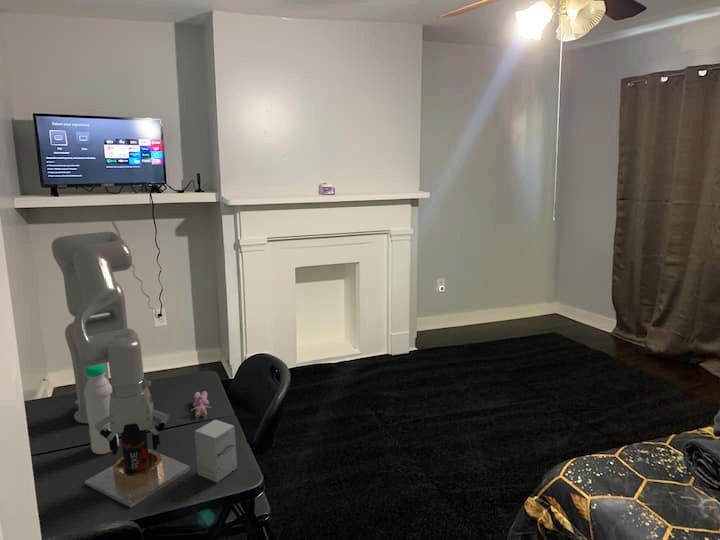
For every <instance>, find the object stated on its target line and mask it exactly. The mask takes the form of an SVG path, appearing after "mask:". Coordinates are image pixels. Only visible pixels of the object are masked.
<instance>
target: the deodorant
mask: <svg viewBox="0 0 720 540" xmlns="http://www.w3.org/2000/svg"><path fill="white" fill-rule="evenodd" d="M147 435H148V434H147V430H139V427H138V425H137V424H131V425H124V430H123V433H120V438H121V448H122V457H124V465H125V474H135V473H139V472H143V471H146V470H147V469H149V468H150V463H149V453H148V449H149V446H148V436H147Z"/></svg>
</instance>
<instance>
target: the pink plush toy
mask: <svg viewBox="0 0 720 540" xmlns="http://www.w3.org/2000/svg"><path fill="white" fill-rule="evenodd" d="M193 398H194V399H195V400H194V402H192V406H193V407H194V408H191V409H190V411H191V412H193V411H194V410H195V411H194V412H195V413H194V414H195V417H196V418H195V420H199V419H200V417H203V419H205V420H206V419H207V415H208V412H207V411H208V410H207V409H212V407H211V406H209V405H210V401H209V400H208V399H207V398H208V392H207V391H205V390H204V391H202V392H200V391H197V392H194V396H193Z"/></svg>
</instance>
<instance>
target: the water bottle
mask: <svg viewBox="0 0 720 540" xmlns="http://www.w3.org/2000/svg"><path fill="white" fill-rule="evenodd" d="M104 374H105V366H104V365H103V364H99V365H95V366H88V367H87V368H86V375H87V377H88V378H89V380H88V382H87V386H86V388H85V390H84V396H85V398H86V411H87V418H88V423H87V424H88V426H89V429H88V430H89V437H90V447H91V451H92V452H93V453H94V454H96V455H106V454H109V452H110V453H111V452H112V451H110V446H109V441H107V438H105V437H103V436H102V435H101V434H100V432H99V431H98V430H97V429H96V428H95V425H96V423H97V422H99V421H100V420H102V419H104V418H105V417H107V416H109V401H110V394H111V392H112V385H111V383H110V381H109V382H108V380H107V379H106V378H105V377H104ZM104 428H106V429H108V430H109V431H111V429H110V422H109V423H107V424H105V425H104ZM116 436H117V442H118V447H119V446H120V441H119V435H118V433H117V434H116ZM112 453H113V452H112Z"/></svg>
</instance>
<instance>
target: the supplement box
mask: <svg viewBox="0 0 720 540" xmlns="http://www.w3.org/2000/svg"><path fill="white" fill-rule="evenodd" d="M235 432H236V430H235V425H233V424H230V423H227V422H223V421H221V420H217V419H213V420H211V421H210V422H208V423H207V424H204V425H203V426H201V427H199V428H197V429H196V430H194V443H195V445H194V446H195V454H196V455H195V457H196V467H197V469H196V470H197V475H198V476H201V477H203V478H205V479H208V480H210V481H212V482H214V483H219V482H220V481H222V479H224V478H225V477H227V476H228V475H230V474H231V473H232V471H233V472H234V471H236V470H237V469H238V461H237V446H236V433H235ZM236 468H237V469H236ZM235 469H236V470H235Z"/></svg>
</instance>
